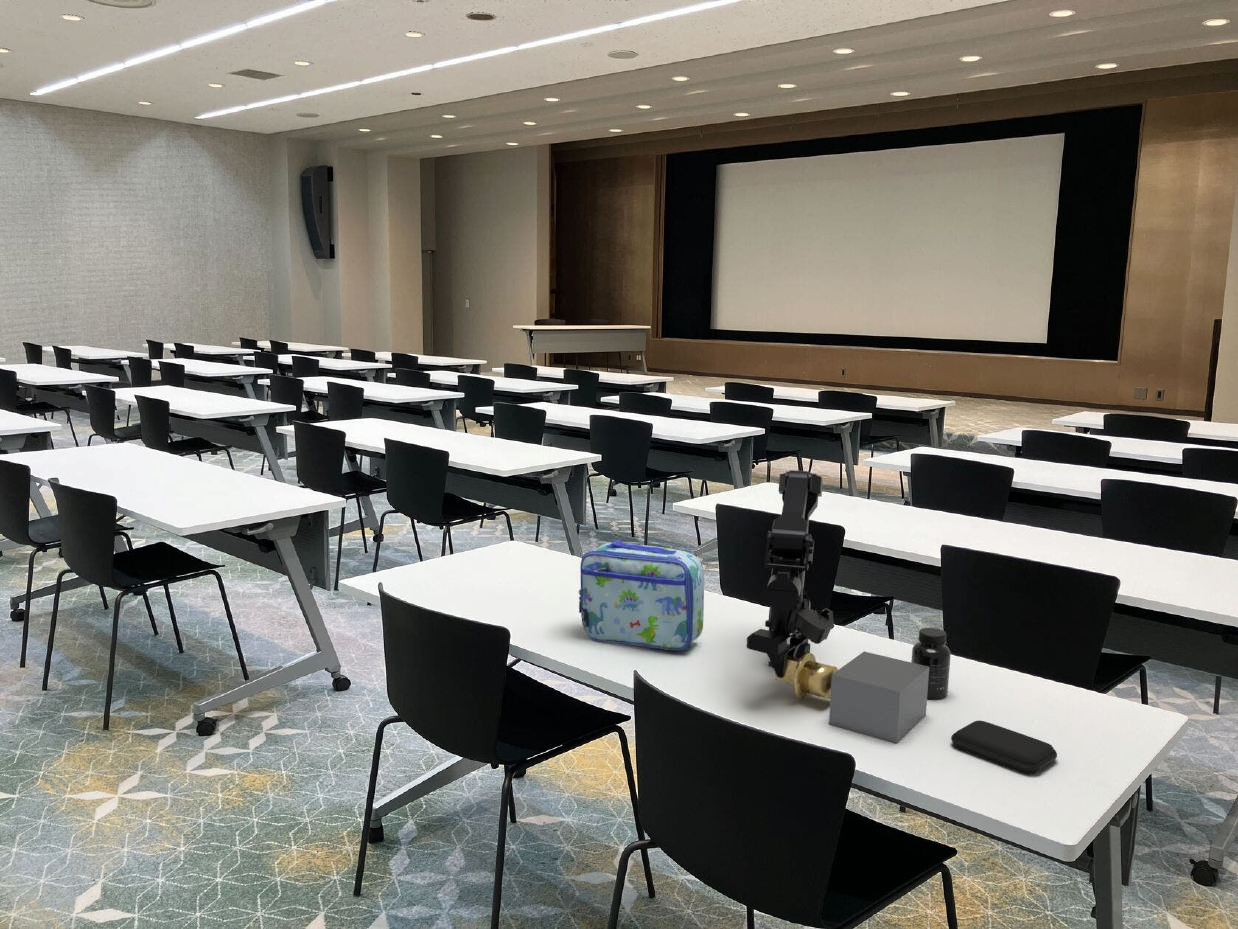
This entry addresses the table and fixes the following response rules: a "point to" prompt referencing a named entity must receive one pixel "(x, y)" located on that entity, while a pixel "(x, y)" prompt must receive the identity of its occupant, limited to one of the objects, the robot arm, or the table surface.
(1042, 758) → the carrying case or bag
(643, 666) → the table surface
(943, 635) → the supplement bottle
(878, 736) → the block
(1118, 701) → the table surface
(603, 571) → the lunch box
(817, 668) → the end cover
